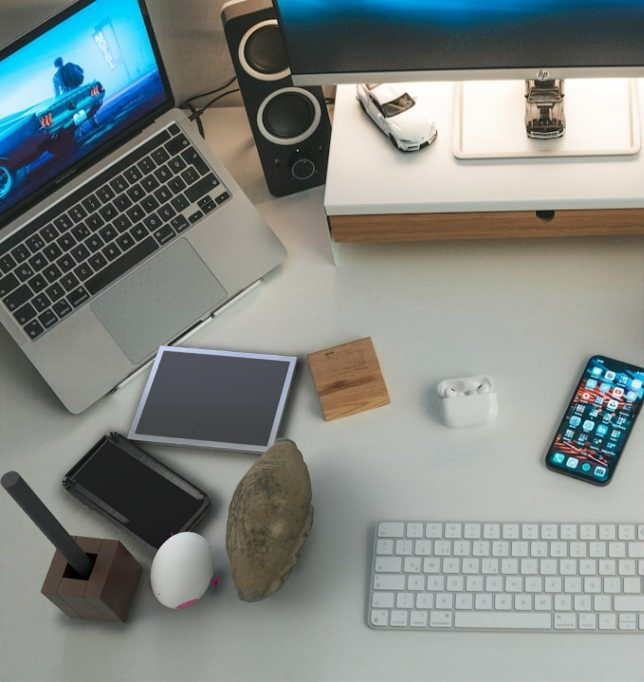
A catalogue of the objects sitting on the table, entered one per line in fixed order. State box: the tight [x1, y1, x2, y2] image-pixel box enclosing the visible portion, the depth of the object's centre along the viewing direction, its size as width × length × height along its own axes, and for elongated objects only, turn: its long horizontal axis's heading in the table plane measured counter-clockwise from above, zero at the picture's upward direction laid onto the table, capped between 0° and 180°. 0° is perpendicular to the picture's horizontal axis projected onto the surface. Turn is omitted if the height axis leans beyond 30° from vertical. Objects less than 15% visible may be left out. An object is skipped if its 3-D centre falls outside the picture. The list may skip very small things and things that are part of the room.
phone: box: [61, 431, 213, 557], centre depth 113 cm, size 8×1×15 cm
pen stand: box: [39, 534, 143, 624], centre depth 105 cm, size 6×6×7 cm
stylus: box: [0, 470, 95, 581], centre depth 99 cm, size 2×2×22 cm
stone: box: [225, 437, 315, 603], centre depth 107 cm, size 17×9×8 cm, turn 179°
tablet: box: [126, 345, 299, 456], centre depth 119 cm, size 16×12×1 cm
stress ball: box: [150, 531, 218, 610], centre depth 106 cm, size 8×8×7 cm
